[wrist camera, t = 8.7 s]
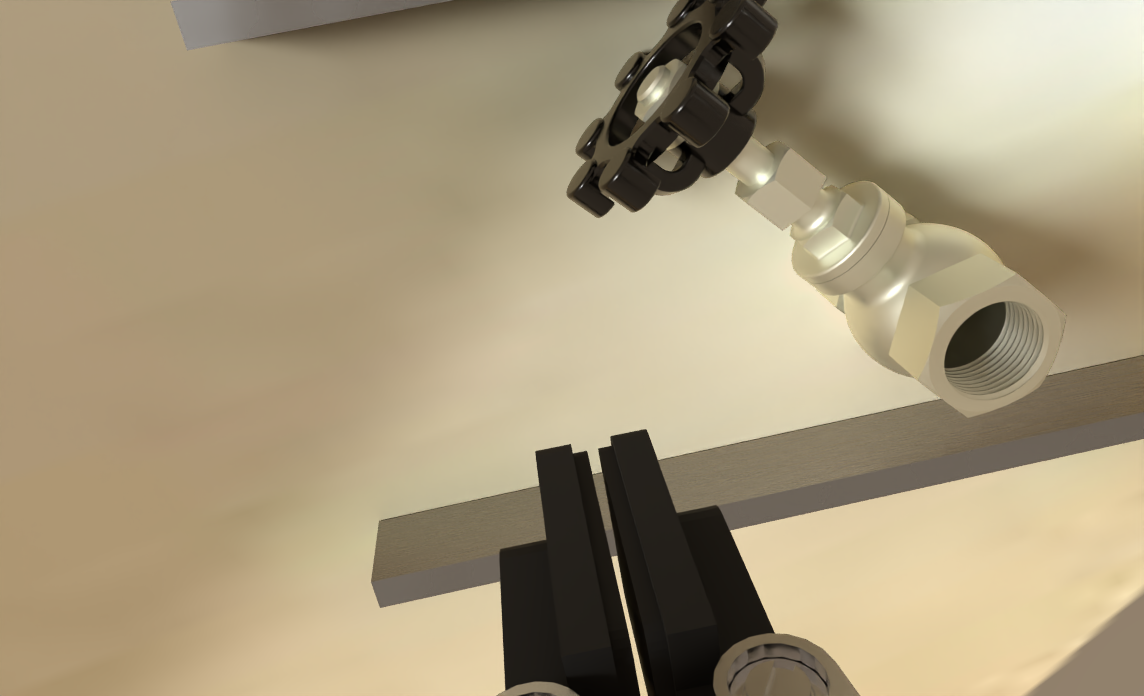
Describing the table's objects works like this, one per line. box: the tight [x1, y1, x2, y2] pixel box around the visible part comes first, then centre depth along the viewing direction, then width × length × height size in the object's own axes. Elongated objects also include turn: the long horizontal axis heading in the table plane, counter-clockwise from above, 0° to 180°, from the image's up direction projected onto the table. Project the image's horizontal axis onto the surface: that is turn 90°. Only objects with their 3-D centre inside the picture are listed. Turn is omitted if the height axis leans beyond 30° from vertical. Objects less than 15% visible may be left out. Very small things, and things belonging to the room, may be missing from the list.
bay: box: [170, 0, 1144, 608], centre depth 24 cm, size 28×17×3 cm, turn 100°
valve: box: [567, 0, 1066, 418], centre depth 22 cm, size 7×7×12 cm
